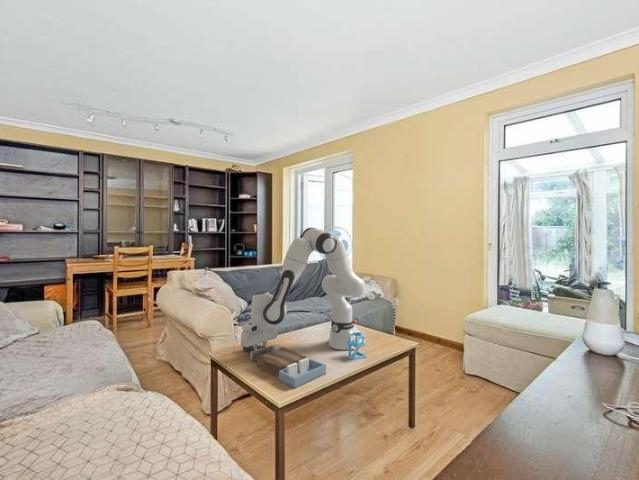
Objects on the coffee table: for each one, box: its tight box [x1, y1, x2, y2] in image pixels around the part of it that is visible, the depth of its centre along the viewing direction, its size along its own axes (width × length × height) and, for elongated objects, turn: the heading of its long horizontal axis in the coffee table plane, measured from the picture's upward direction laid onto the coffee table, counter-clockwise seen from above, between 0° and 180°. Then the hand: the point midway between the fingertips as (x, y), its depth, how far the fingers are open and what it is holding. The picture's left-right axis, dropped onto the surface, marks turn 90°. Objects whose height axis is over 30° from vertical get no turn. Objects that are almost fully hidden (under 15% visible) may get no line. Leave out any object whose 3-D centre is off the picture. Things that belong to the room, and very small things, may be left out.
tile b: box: [287, 363, 298, 377], centre depth 138 cm, size 5×5×2 cm
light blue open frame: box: [347, 332, 368, 360], centre depth 163 cm, size 8×8×12 cm
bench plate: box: [256, 347, 307, 379], centre depth 148 cm, size 16×16×5 cm
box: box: [278, 358, 327, 389], centre depth 139 cm, size 19×10×4 cm, turn 138°
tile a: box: [299, 357, 310, 373], centre depth 144 cm, size 5×5×2 cm
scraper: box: [242, 343, 279, 362], centre depth 162 cm, size 18×16×4 cm
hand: (259, 351), depth 159 cm, fingers closed on scraper, 2 cm apart
